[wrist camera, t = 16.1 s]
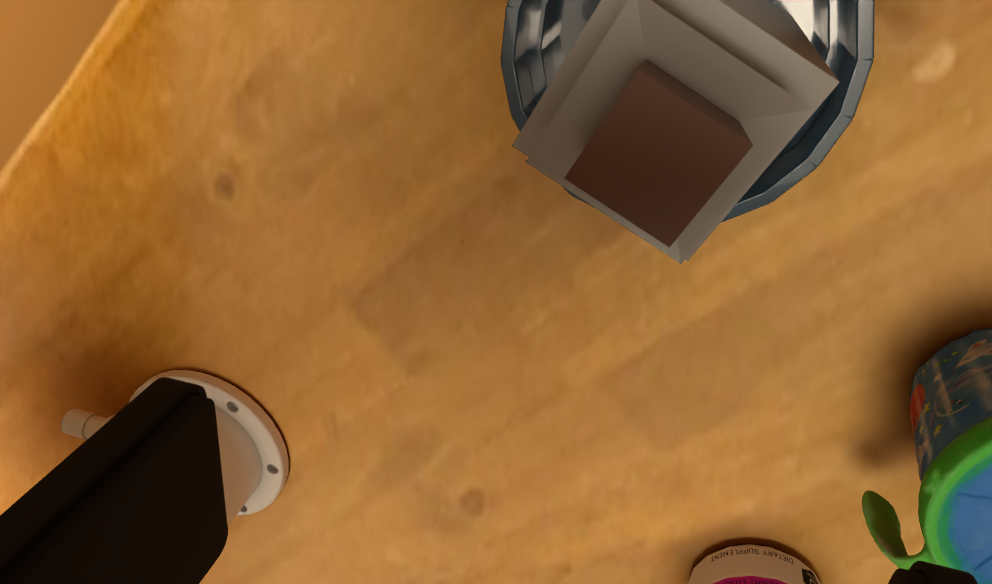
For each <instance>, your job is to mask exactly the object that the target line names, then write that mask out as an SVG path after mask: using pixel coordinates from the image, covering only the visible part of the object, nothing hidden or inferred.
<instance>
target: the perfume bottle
mask: <svg viewBox="0 0 992 584" xmlns="http://www.w3.org/2000/svg"><path fill="white" fill-rule="evenodd" d="M838 83H839V81H838V79H837V78H836V77H835V75H834V74H833V72H832V71H831V70H830V68H829V67H828V66H827V64H826V63H825V61H824V60H823V59H822V57H821V56H820V54H819V53H818V52H817V50H816V49H815V47H814V46H813V45H812V43H811V42H810V41H809V39H808V38H807V36H806V35H805V34H804V32H803V31H802V29H801V28H800V27H799V25H798V24H797V23H796V21H795V20H794V18H793V17H792V16H791V15H790V14H788V13H787V12H785V11H784V10H782V9H781V8H780V7H778V6H777V5H775V4H774V3H772V2H771V1H769V0H601V1H600V3H599V4H598V6H597V8H596V9H595V11H594V13H593V14H592V16H591V17H590V19H589V21H588V22H587V24H586V26H585V27H584V29H583V30H582V32H581V34H580V35H579V37H578V39H577V40H576V42H575V44H574V45H573V47H572V48H571V50H570V52H569V53H568V55H567V57H566V58H565V60H564V61H563V63H562V65H561V66H560V68H559V70H558V71H557V73H556V75H555V76H554V78H553V79H552V81H551V83H550V84H549V86H548V88H547V89H546V91H545V92H544V94H543V96H542V97H541V99H540V101H539V102H538V104H537V106H536V107H535V109H534V110H533V112H532V114H531V115H530V117H529V119H528V120H527V122H526V123H525V125H524V127H523V128H522V130H521V132H520V133H519V135H518V137H517V138H516V140H515V141H514V143H513V145H512V146H513V147H515V148H516V149H518V150H519V151H521V152H522V153H524V154H525V155H527V156H528V159H527V160H526V163H528V164H529V165H531V166H532V167H534V168H535V169H537V170H538V171H540V172H542V173H543V174H545V175H546V176H548V177H549V178H551V179H552V180H554V181H555V182H557V183H558V184H560V185H561V186H563V187H564V188H566V189H567V190H569V191H570V192H572V193H574V194H575V195H577V196H578V197H580V198H581V199H583V200H584V201H586V202H587V203H589V204H590V205H592V206H593V207H595V208H596V209H598V210H599V211H601V212H602V213H604V214H606V215H607V216H609V217H610V218H612V219H613V220H615V221H616V222H618V223H619V224H621V225H622V226H624V227H625V228H627V229H628V230H630V231H631V232H633V233H635V234H636V235H638V236H639V237H641V238H642V239H644V240H645V241H647V242H648V243H650V244H651V245H653V246H654V247H656V248H657V249H659V250H660V251H662V252H663V253H665V254H667V255H668V256H670V257H671V258H673V259H674V260H676V261H677V262H679V263H680V264H682V262H683V261H684V260H687V261H688V260H689V259H690V258H691V257H692V255H693V254H694V253H695V252H696V251H697V250H698V248H699V247H700V246H701V245H702V244H703V243H704V241H705V240H706V239H707V238H708V237H709V235H710V234H711V233H712V232H713V231H714V230H715V228H716V227H717V226H718V225H719V224H720V222H721V221H722V220H723V219H724V218H725V217H726V215H727V214H728V213H729V212H730V211H731V210H732V208H733V207H734V206H735V205H736V204H737V202H738V201H739V200H740V199H741V198H742V197H743V195H744V194H745V193H746V192H747V191H748V190H749V188H750V187H751V186H752V185H753V184H754V182H755V181H756V180H757V179H758V178H759V177H760V175H761V174H762V173H763V172H764V171H765V169H766V168H767V167H768V166H769V165H770V164H771V162H772V161H773V160H774V159H775V158H776V157H777V155H778V154H779V153H780V152H781V151H782V149H783V148H784V147H785V146H786V145H787V144H788V142H789V141H790V140H791V139H792V138H793V136H794V135H795V134H796V133H797V132H798V131H799V129H800V128H801V127H802V126H803V125H804V124H805V122H806V121H807V120H808V119H809V118H810V116H811V115H812V114H813V113H814V112H815V111H816V109H817V108H818V107H819V106H820V105H821V104H822V102H823V101H824V100H825V99H826V98H827V96H828V95H829V94H830V93H831V92H832V91H833V89H834V88H835V87H836V86H837V85H838Z"/></svg>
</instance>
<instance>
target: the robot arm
mask: <svg viewBox="0 0 992 584" xmlns="http://www.w3.org/2000/svg"><path fill="white" fill-rule="evenodd" d="M61 431H62V432H63V433H64V434H67V435H71V436H74V437H78V438H81V439H85V440H86V441H85V442H84V443H83V444H82V445H81V446H79V447H78V448H77V449H76V450H75V451H74V452H73V453H71V454H70V455H69V456H68V457H67V458H66V459H65V460H63V461H62V462H61V463H60V464H59V465H58V466H57V467H55V468H54V469H53V470H52V471H51V472H50V473H48V474H47V475H46V476H45V477H44V478H43V479H42V480H40V481H39V482H38V483H37V484H36V485H35V486H34V487H32V488H31V489H30V490H29V491H28V492H27V493H26V494H24V495H23V496H22V497H21V498H20V499H19V500H18V501H16V502H15V503H14V504H13V505H12V506H11V507H10V508H8V509H7V510H6V511H5V512H4V513H3V514H2V515H0V584H199V583H200V582H201V580H202V579H203V578H204V576H205V575H206V574H207V572H208V571H209V569H210V568H211V567H212V565H213V564H214V563H215V561H216V560H217V559H218V557H219V556H220V554H221V552H222V551H223V548H224V546H225V543H226V540H227V535H228V525H229V524H230V523H231V521H232V520H233V519H234V517H235V516H240V515H248V514H253V513H255V512H258V511H261V510H263V509H264V508H266V507H267V506H269V505H270V504H271V503H272V502H273V501H274V500H275V498H276V497H277V496H278V495H279V493H280V492H281V490H282V489H283V487H284V485H285V484H286V480H287V476H288V473H289V460H288V455H287V450H286V446H285V444H284V442H283V439H282V437H281V434H280V432H279V431H278V429H277V428H276V426H275V425H274V423H273V421H272V420H271V419H270V417H269V416H268V415H267V414H266V413H265V411H264V410H263V409H262V408H261V407H260V406H259V405H258V404H257V403H256V402H255V401H253V400H252V399H251V398H250V397H249V396H248V395H246V394H245V393H243V392H242V391H241V390H239V389H238V388H236V387H235V386H233V385H231V384H229V383H227V382H225V381H223V380H221V379H219V378H217V377H214V376H211V375H208V374H205V373H202V372H195V371H189V370H171V371H167V372H163V373H159V374H157V375H155V376H153V377H151V378H150V379H148V380H147V381H146V382H145V383H144V384H143V385H141V386H140V387H139V388H138V389H137V390H136V391H135V393H134V394H133V395H132V396H131V398H130V401H129V403H128V404H127V405H126V406H125V407H124V408H123V409H122V410H121V411H119V412H118V413H117V414H116V415H111V416H109V417H108V418H106V417H102V416H100V415H99V414H97V413H93V412H89V411H86V410H82V409H78V408H72V409H70V410H69V411H68V412H66V414H65V415H64V417H63V418H62V422H61ZM888 584H978V583H977V581H976V579H975V577H974V576H973V575H971V574H970V573H969V572H965V571H961V570H957V569H953V568H949V567H945V566H941V565H937V564H932V563H928V562H924V561H916V562H915V563H913V564H912V566H911V567H910V568H909V570H907V569H902V568H899V569H897V570H896V571H895V572H894V574H893V575H892V577H891V579H890V581H889V583H888Z"/></svg>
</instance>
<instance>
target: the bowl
mask: <svg viewBox="0 0 992 584" xmlns="http://www.w3.org/2000/svg"><path fill="white" fill-rule="evenodd" d="M600 1H601V0H508V2H507V6H506V12H505V21H504V31H503V41H502V51H501V67H502V72H503V77H504V82H505V88H506V93H507V98H508V103H509V108H510V113H511V116H512V118H513V120H514V122H515V124H516V125H517V127H518V129H519V131H520V132H521V130H522V128H523V127H524V125H525V123H526V122H527V120H528V119H529V117H530V115H531V114H532V112H533V110H534V109H535V107H536V106H537V104H538V102H539V101H540V99H541V97H542V96H543V94H544V92H545V91H546V89H547V88H548V86H549V84H550V83H551V81H552V79H553V78H554V76H555V75H556V73H557V71H558V70H559V68H560V66H561V65H562V63H563V61H564V60H565V58H566V57H567V55H568V53H569V52H570V50H571V48H572V47H573V45H574V44H575V42H576V40H577V39H578V37H579V35H580V34H581V32H582V30H583V29H584V27H585V26H586V24H587V22H588V21H589V19H590V17H591V16H592V14H593V13H594V11H595V9H596V8H597V6H598V4H599V3H600ZM769 1H771V2H772V3H774V4H775V5H777V6H778V7H780V8H781V9H782V10H784V11H785V12H787V13H788V14H790V15H791V16H792V17H793V18H794V20H795V21H796V23H797V24H798V25H799V27H800V28H801V29H802V31H803V32H804V34H805V35H806V36H807V38H808V39H809V41H810V42H811V43H812V45H813V46H814V47H815V49H816V50H817V52H818V53H819V54H820V56H821V57H822V59H823V60H824V61H825V63H826V64H827V66H828V67H829V68H830V70H831V71H832V72H833V74H834V75H835V77H836V78H837V79H838V81H839V83H838V85H837V86H836V87H835V88H834V89H833V91H832V92H831V93H830V94H829V95H828V96H827V98H826V99H825V100H824V101H823V102H822V104H821V105H820V106H819V107H818V108H817V109H816V111H815V112H814V113H813V114H812V115H811V116H810V118H809V119H808V120H807V121H806V122H805V124H804V125H803V126H802V127H801V128H800V129H799V131H798V132H797V133H796V134H795V135H794V136H793V138H792V139H791V140H790V141H789V142H788V144H787V145H786V146H785V147H784V148H783V149H782V151H781V152H780V153H779V154H778V155H777V157H776V158H775V159H774V160H773V161H772V162H771V164H770V165H769V166H768V167H767V168H766V169H765V171H764V172H763V173H762V174H761V175H760V177H759V178H758V179H757V180H756V181H755V182H754V184H753V185H752V186H751V187H750V188H749V190H748V191H747V192H746V193H745V194H744V195H743V197H742V198H741V199H740V200H739V201H738V202H737V204H736V205H735V206H734V207H733V208H732V210H731V211H730V212H729V213H728V214H727V215H726V217H725V218H724V219H723V220H722V221H721V222H724V221H726V220H729V219H731V218H734V217H737V216H739V215H742V214H744V213H747V212H749V211H752V210H754V209H757V208H759V207H762V206H764V205H767V204H769V203H770V202H773V201H774V200H776V199H777V198H778V197H780V196H781V195H782V194H783V193H785V192H786V191H787V190H789V189H790V188H791V187H793V186H794V185H795V184H797V183H798V182H799V181H800V180H802V179H803V178H804V177H806V176H807V175H808V174H810V173H811V172H812V171H813V170H815V169H816V168H817V167H818V166H819V165H820V163H821V162H822V161H823V159H824V158H825V157H826V155H827V154H828V152H829V151H830V150H831V148H832V147H833V146H834V144H835V143H836V142H837V140H838V139H839V137H840V136H841V135H842V133H843V132H844V131H845V129H846V128H847V127H848V125H849V124H850V122H851V121H852V119H853V117H854V115H855V112H856V110H857V107H858V104H859V101H860V98H861V95H862V92H863V89H864V86H865V84H866V81H867V78H868V75H869V72H870V69H871V66H872V63H873V58H874V7H875V0H769ZM562 187H563V186H562ZM563 188H564V187H563ZM564 189H565V190H566V191H567V192H568V193H569V194H570V195H572V196H573V197H575V198H577V199H579V200H581V201H583V202H585V203H587V202H586V201H584V200H583V199H581V198H580V197H578V196H577V195H575V194H574V193H572V192H570V191H569V190H567V189H566V188H564ZM587 204H589V203H587ZM589 205H590V204H589ZM591 206H592V205H591ZM592 207H593V206H592ZM594 208H595V207H594ZM721 222H720V223H721Z"/></svg>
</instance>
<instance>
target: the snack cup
mask: <svg viewBox="0 0 992 584" xmlns="http://www.w3.org/2000/svg"><path fill="white" fill-rule="evenodd" d="M910 412H911V421H912V429H913V435H914V439H915V444H916V456H917V462H918V467H919V476H920V480H921V487H920V491H919V506H918V515H919V522H920V526H921V530H922V534H923V537H924V539H925V544H924V547H923V549H922V551H921V552H920V553H918V554H916V555H911V556H908V554H907V552H906V549H905V546H904V543H903V541H902V539H901V530H900V523H899V520H898V518H897V515H896V512H895V510H894V508H893V506H892V505H891V504H890V503H889V502H888V501H887V500H885V499H884V498H883V497H882V496H880V495H879V494H877V493H875V492H873V491H866V492H865V493H864V494H863V497H862V507H863V513H864V516H865V519H866V523H867V526H868V528H869V530H870V533H871V535H872V537H873V538H874V541H875V543H876V544H877V545H878V547H879V548H880V550H881V551H882V552H883V553H884V554H885V556H887V558H888V559H889V560H890V561H892V562H893V563H894V564H896V565H897V566H898V567H899V568H902V569H907V570H909V568H910V567H911V566H912V564H913V563H915V562H916V561H924V562H928V563H932V564H937V565H941V566H945V567H949V568H953V569H957V570H961V571H965V572H969V573H970V574H971V575H973V576H974V577H975V579H976V581H977V583H978V584H992V329H989V328H988V329H983V330H977V331H972V332H971V334H969V335H967V336H965V337H962V338H960V339H958V340H956V341H951V342H949V343H948V344H947V345H946V346H944V347H943V348H942V349H940V350H939V351H937V352H936V353H935V354H934V355H933V356H932V357H931V358H930V359H929V360H928V361H927V362H926V363H925V364H924V365H922V366H920V367H919V368H918V371H917V372H916V374H915V376H914V379H913V383H912V389H911V394H910Z"/></svg>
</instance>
